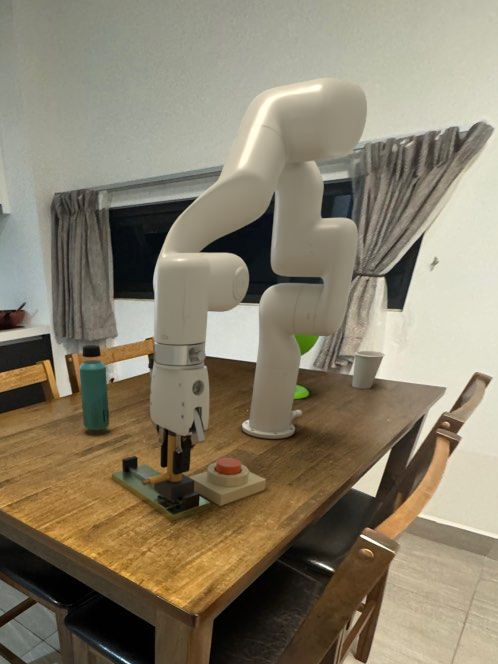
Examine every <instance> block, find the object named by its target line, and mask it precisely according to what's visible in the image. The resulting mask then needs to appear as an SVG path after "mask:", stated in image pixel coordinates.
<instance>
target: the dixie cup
mask: <svg viewBox="0 0 498 664" xmlns="http://www.w3.org/2000/svg"><path fill="white" fill-rule="evenodd" d="M384 357H385V353H383V352H381V351H375V350H359V351H356V352H355V353H354V366H353V374H352V383H351V387H352V388H356V389H362V390H363V389H367V390H368V389H371V388H372V386H373V383H374V382H375V379H376V376H377V373H378V371H379V368H380V366H381V365H382V361H383V358H384Z"/></svg>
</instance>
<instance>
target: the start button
mask: <svg viewBox="0 0 498 664" xmlns="http://www.w3.org/2000/svg"><path fill="white" fill-rule="evenodd" d="M216 462H217V463H216ZM216 462H215V463H216V472H218V473H220V474H224V475H236V474H239V473H240V469H241V464H242V462H241V460H240V459H237V458H233V457H221V458H218V459H217V460H216Z"/></svg>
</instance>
